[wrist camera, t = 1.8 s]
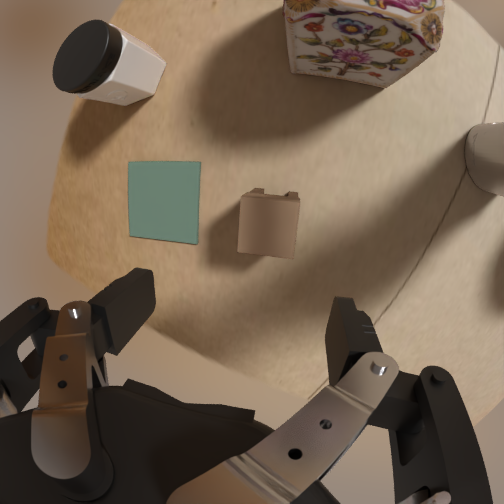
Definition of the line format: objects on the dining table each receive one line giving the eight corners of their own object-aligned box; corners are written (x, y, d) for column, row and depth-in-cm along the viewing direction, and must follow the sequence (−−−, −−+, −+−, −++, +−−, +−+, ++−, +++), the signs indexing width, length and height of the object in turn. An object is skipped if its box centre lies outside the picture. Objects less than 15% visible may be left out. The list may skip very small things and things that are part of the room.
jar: (113, 113, 29) (49, 106, 18) (110, 64, 27) (51, 45, 16) (170, 91, 27) (112, 67, 16) (165, 39, 25) (113, 4, 14)
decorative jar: (384, 14, 20) (436, -64, 3) (389, 90, 24) (474, 37, 7) (290, -1, 21) (278, -99, 4) (286, 74, 25) (273, -16, 8)
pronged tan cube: (298, 191, 30) (300, 203, 22) (293, 234, 31) (293, 259, 24) (254, 187, 30) (240, 196, 23) (251, 229, 32) (237, 252, 24)
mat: (201, 161, 30) (199, 162, 30) (198, 243, 33) (197, 244, 33) (130, 161, 31) (128, 161, 31) (131, 235, 35) (129, 235, 34)
